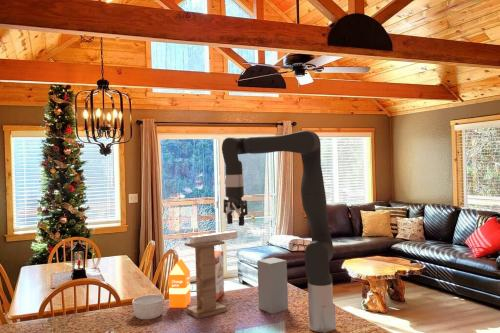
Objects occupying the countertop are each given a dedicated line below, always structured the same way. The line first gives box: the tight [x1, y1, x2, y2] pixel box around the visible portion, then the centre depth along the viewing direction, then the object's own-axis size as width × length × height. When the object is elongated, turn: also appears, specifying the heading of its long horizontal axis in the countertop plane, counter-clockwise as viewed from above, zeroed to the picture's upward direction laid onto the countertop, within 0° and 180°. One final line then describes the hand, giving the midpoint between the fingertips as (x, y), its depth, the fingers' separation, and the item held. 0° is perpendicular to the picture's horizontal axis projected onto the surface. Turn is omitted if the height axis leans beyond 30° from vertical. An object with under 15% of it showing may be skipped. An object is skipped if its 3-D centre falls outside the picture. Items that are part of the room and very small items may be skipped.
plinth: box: [256, 257, 289, 314], centre depth 189 cm, size 9×9×21 cm
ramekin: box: [131, 293, 165, 320], centre depth 186 cm, size 13×13×7 cm
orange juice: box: [168, 258, 192, 308], centre depth 199 cm, size 8×9×20 cm
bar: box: [189, 230, 238, 245], centre depth 190 cm, size 4×22×3 cm, turn 126°
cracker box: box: [214, 250, 225, 302], centre depth 209 cm, size 14×6×21 cm, turn 168°
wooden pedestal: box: [184, 240, 228, 320], centre depth 187 cm, size 10×14×30 cm
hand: (235, 224), depth 180 cm, fingers open, 8 cm apart
